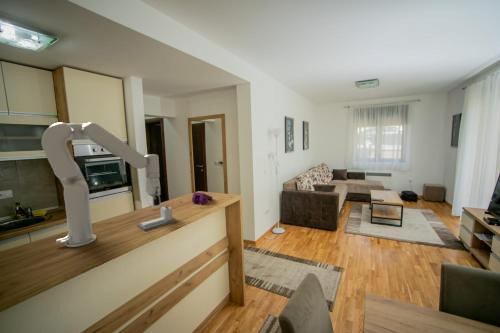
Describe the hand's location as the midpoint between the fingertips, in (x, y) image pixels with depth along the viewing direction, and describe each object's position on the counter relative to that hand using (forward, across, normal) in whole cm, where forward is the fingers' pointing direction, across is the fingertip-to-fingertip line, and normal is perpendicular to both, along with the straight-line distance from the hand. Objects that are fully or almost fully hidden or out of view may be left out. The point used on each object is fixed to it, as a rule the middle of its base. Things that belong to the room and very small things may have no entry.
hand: (154, 203), depth 132 cm
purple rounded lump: (+14, -18, +49) cm, 54 cm away
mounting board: (+13, 0, +1) cm, 13 cm away
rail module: (+2, 0, 0) cm, 2 cm away
